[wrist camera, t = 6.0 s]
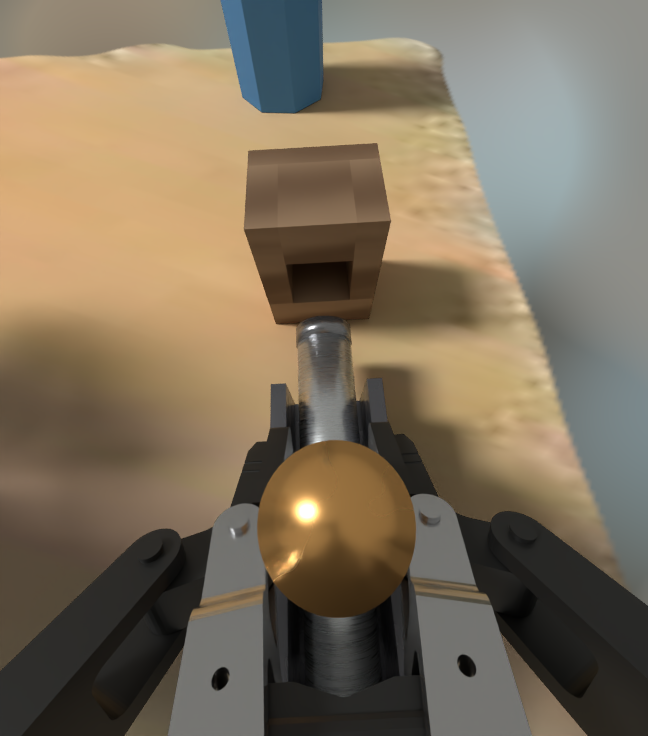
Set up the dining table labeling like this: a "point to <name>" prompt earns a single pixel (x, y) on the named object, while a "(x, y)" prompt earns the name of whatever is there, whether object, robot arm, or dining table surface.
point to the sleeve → (293, 615)
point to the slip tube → (335, 519)
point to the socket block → (317, 228)
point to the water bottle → (277, 51)
